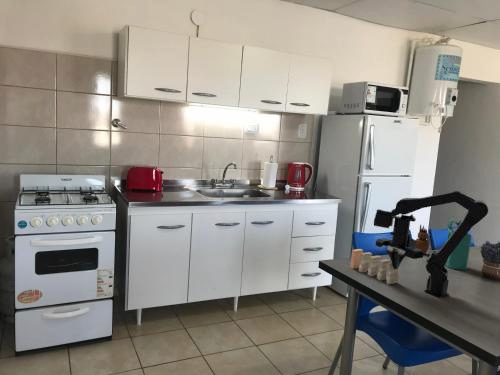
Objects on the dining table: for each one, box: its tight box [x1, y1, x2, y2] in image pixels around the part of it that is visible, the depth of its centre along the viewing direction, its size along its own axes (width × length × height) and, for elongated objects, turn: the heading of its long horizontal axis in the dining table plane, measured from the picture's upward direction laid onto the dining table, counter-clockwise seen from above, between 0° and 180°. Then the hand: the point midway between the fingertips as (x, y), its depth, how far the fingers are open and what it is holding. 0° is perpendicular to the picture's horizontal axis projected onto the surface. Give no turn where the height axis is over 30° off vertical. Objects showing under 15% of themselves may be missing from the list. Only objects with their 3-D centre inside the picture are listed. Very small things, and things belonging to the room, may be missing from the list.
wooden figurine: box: [415, 223, 430, 255], centre depth 216 cm, size 7×6×15 cm
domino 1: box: [349, 248, 364, 269], centre depth 183 cm, size 2×5×8 cm, turn 122°
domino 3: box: [367, 255, 382, 277], centre depth 175 cm, size 2×5×8 cm, turn 122°
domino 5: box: [386, 262, 399, 285], centre depth 167 cm, size 2×5×8 cm, turn 121°
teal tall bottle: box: [445, 218, 473, 271], centre depth 196 cm, size 10×8×22 cm
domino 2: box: [358, 251, 373, 273], centre depth 179 cm, size 2×5×8 cm, turn 122°
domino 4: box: [376, 258, 392, 281], centre depth 171 cm, size 2×5×8 cm, turn 122°
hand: (395, 269), depth 166 cm, fingers closed
